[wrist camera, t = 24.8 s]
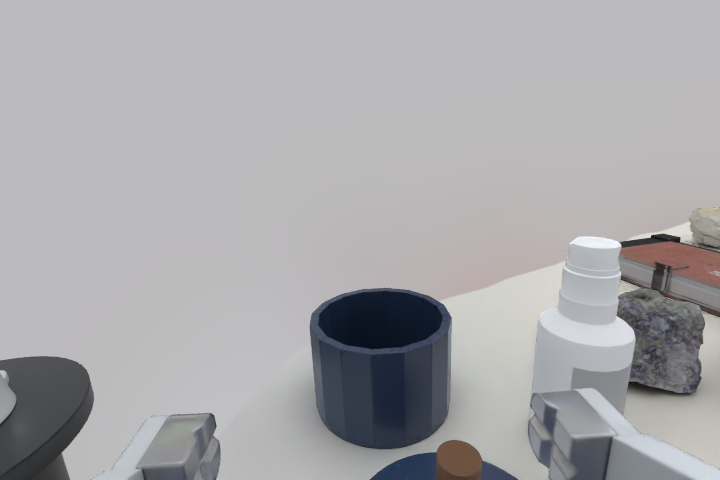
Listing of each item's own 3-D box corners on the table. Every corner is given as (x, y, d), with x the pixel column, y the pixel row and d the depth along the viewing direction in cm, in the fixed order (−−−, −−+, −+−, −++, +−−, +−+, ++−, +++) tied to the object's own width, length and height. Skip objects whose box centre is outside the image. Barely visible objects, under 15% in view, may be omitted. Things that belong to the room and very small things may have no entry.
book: (588, 268, 72) (591, 243, 71) (659, 257, 76) (663, 233, 75) (757, 333, 48) (766, 297, 47) (848, 312, 52) (859, 278, 51)
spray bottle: (611, 485, 29) (648, 261, 24) (518, 443, 33) (534, 246, 28) (620, 430, 34) (653, 237, 29) (539, 400, 38) (556, 227, 33)
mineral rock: (538, 359, 45) (545, 280, 42) (584, 331, 50) (593, 260, 48) (671, 423, 34) (692, 324, 32) (710, 378, 40) (730, 290, 37)
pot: (313, 454, 33) (303, 358, 30) (321, 364, 46) (315, 292, 43) (467, 443, 33) (470, 347, 31) (431, 356, 46) (432, 284, 44)
